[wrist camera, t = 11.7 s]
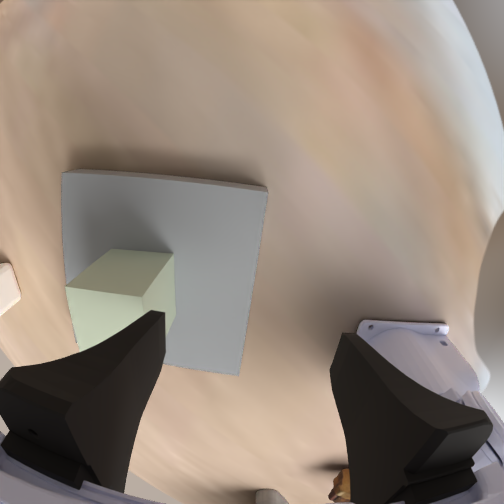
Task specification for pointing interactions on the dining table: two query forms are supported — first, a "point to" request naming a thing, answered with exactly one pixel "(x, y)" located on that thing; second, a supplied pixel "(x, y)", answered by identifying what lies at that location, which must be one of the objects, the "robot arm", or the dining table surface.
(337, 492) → the wooden carving
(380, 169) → the dining table surface
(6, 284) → the pepper shaker
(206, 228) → the slate block
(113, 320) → the sage block
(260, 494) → the hip flask
